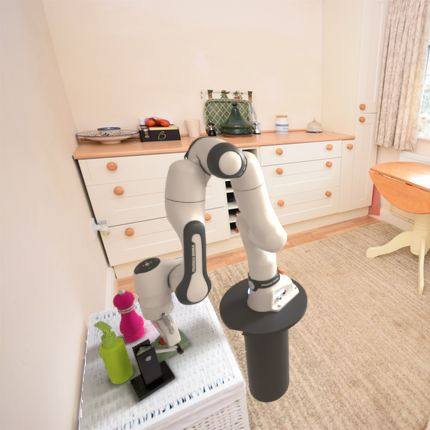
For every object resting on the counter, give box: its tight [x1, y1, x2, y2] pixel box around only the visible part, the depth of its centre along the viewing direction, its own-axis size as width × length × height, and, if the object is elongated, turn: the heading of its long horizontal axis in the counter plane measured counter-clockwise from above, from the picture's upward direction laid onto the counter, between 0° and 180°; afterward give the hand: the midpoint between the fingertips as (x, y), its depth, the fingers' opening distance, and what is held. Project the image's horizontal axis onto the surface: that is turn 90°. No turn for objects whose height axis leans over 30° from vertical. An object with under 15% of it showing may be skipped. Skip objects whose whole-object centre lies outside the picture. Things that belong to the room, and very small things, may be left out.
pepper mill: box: [112, 288, 146, 343], centre depth 99 cm, size 7×7×20 cm
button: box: [159, 338, 166, 345], centre depth 98 cm, size 4×4×2 cm
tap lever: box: [137, 343, 185, 355], centre depth 87 cm, size 12×5×2 cm, turn 138°
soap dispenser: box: [93, 320, 134, 385], centre depth 85 cm, size 6×7×20 cm
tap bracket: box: [129, 338, 176, 402], centre depth 85 cm, size 10×8×14 cm
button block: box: [150, 327, 191, 363], centre depth 98 cm, size 11×8×4 cm
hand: (165, 338), depth 97 cm, fingers closed, pressing on button
